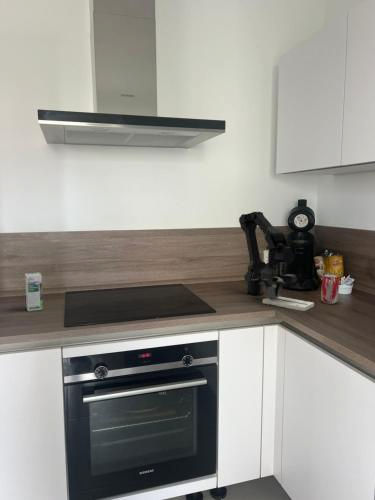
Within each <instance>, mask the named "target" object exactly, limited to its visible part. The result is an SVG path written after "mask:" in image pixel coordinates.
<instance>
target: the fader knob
mask: <svg viewBox="0 0 375 500" xmlns="http://www.w3.org/2000/svg"><path fill="white" fill-rule="evenodd" d="M278 297H280V294H279V295H278V296H276V284H272V285H271V286H268V290H267V298H271V299H275V298H278Z"/></svg>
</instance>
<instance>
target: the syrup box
mask: <svg viewBox="0 0 375 500" xmlns="http://www.w3.org/2000/svg"><path fill="white" fill-rule="evenodd" d="M24 280H25V282H24V283H25V285H24V286H25V300H26V309H27V311H28V312H33V311H40V310H41V311H42V310H43V309H44V303H43V301H44V300H43V299H44V298H43V278H42V273H41V272H32V273H31V272H29V273H27V272H26V273H24Z"/></svg>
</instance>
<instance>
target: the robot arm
mask: <svg viewBox="0 0 375 500" xmlns="http://www.w3.org/2000/svg"><path fill="white" fill-rule="evenodd" d="M238 222H239V225H240V228H241V230H242V231H243V232H244V234H245V239H246V245H247V251H248V257H249V263H248V266H247V271H246V273H245V275H244V276H243V277H244V281H245V282H247V286H246V287H247V290H246V292H245V294H248V295H253V296H260V295H263V294H264V284H265V287H266V290H267V291H268V286H271V285H273V279H275V280H277V281H275V285H276V296H278V295H279V296H280V293H281V290H282V288H283V287H284V285H285V283H287V284H293V283H297V280H298V277H297V275H296V274H290V273H287V274H283V272H282V266H283V265H284V264H286V265H290V264H293V262H294V261H295V259H296V258H295V257H296V256H295V253H294V252H293V250H292V247H291V246H290V245H289V243H288V240H287V238H286V235H285V233H284V232H283V231H282V230H280V229H279V228H276V227H274V225H272V224H271V222H270V221H269V220H268V219H267V218H266V217H265V215H264V212H261V211H253V212H250V213H246V214H245V213H242V214H241V215H240V216H239V218H238ZM257 227H258V228H259V229H260V230H261V232H262V233H263V234H264V240H265V242H266V243H267V246H266V247H265V249H266V250H268V252H267V262H265V261H262V259H261V256H260V255H261V254H260V250H259V245H258V238H257V233H256V230H257ZM263 283H264V284H263Z"/></svg>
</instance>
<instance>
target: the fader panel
mask: <svg viewBox="0 0 375 500" xmlns="http://www.w3.org/2000/svg"><path fill="white" fill-rule="evenodd" d="M262 304H265V305H270V304H271V306H275V305H276V307H281V308H282V307H283V308H286V309H291V310H297V311H301V312H305V311H307V310H309V309H311V308H314V306H315V302H311V301H307V300H306V301H305V300H302V299H301V300H300V299H295V298H289V297H283V296H279V297H278V298H275V299H271V298H268V297H266V298H264V299H262Z"/></svg>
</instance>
